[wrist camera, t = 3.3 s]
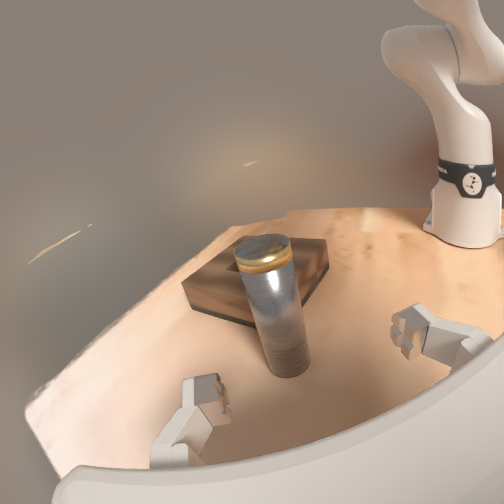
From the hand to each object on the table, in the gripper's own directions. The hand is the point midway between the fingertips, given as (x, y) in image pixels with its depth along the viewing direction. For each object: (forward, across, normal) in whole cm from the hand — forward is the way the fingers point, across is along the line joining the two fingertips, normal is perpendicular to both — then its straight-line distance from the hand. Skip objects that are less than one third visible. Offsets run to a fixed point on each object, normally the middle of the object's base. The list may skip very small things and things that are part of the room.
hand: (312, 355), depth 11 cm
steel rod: (+12, 0, +14) cm, 19 cm away
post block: (+28, 0, +14) cm, 31 cm away
